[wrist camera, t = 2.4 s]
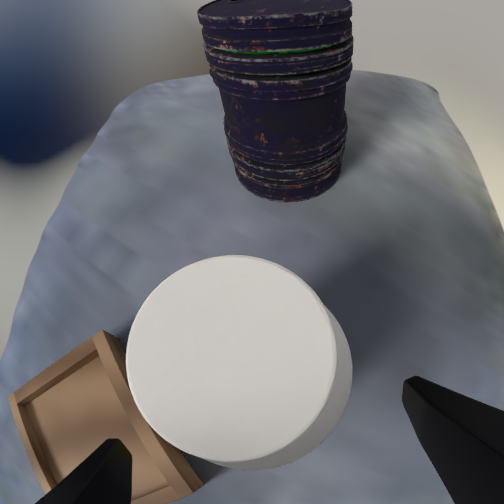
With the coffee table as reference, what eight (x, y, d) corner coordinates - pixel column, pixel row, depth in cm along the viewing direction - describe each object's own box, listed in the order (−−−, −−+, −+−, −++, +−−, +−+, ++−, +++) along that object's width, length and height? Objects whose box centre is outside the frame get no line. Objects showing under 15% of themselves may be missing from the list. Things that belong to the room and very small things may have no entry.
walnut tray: (204, 484, 14) (193, 492, 12) (85, 526, 12) (68, 532, 10) (118, 337, 20) (102, 329, 18) (25, 401, 17) (7, 396, 15)
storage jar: (355, 146, 26) (368, -2, 13) (318, 220, 22) (326, 23, 10) (265, 121, 30) (245, -11, 17) (212, 182, 26) (161, 23, 13)
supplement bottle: (217, 338, 19) (115, 227, 8) (320, 334, 18) (359, 206, 7) (215, 438, 16) (85, 473, 4) (324, 436, 15) (392, 491, 4)
